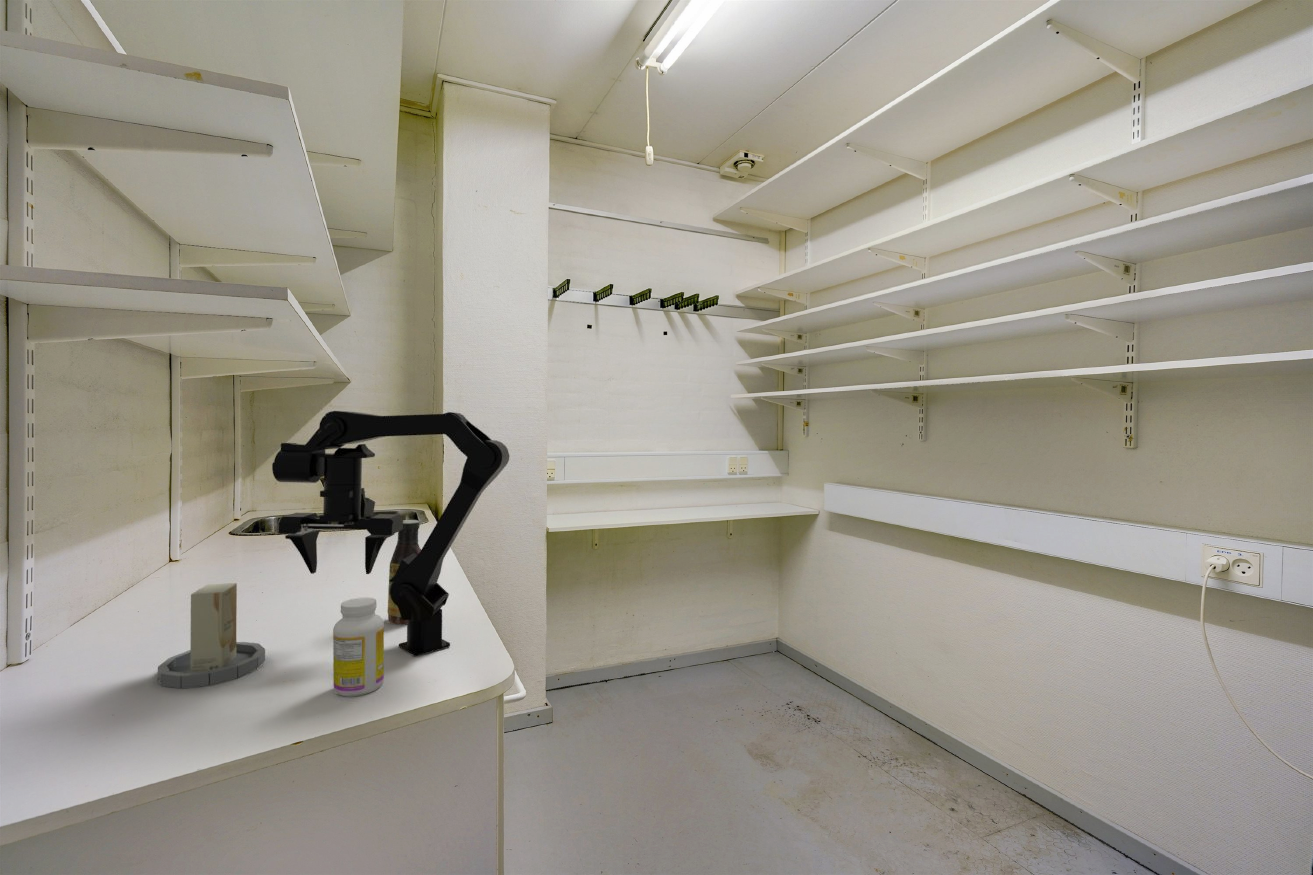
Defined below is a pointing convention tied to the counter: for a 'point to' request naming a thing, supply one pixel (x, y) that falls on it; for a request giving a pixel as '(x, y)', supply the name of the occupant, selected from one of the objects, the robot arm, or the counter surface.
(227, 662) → the skincare box
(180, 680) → the round tray
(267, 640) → the counter surface
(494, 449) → the robot arm
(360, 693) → the supplement bottle
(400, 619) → the sauce bottle
